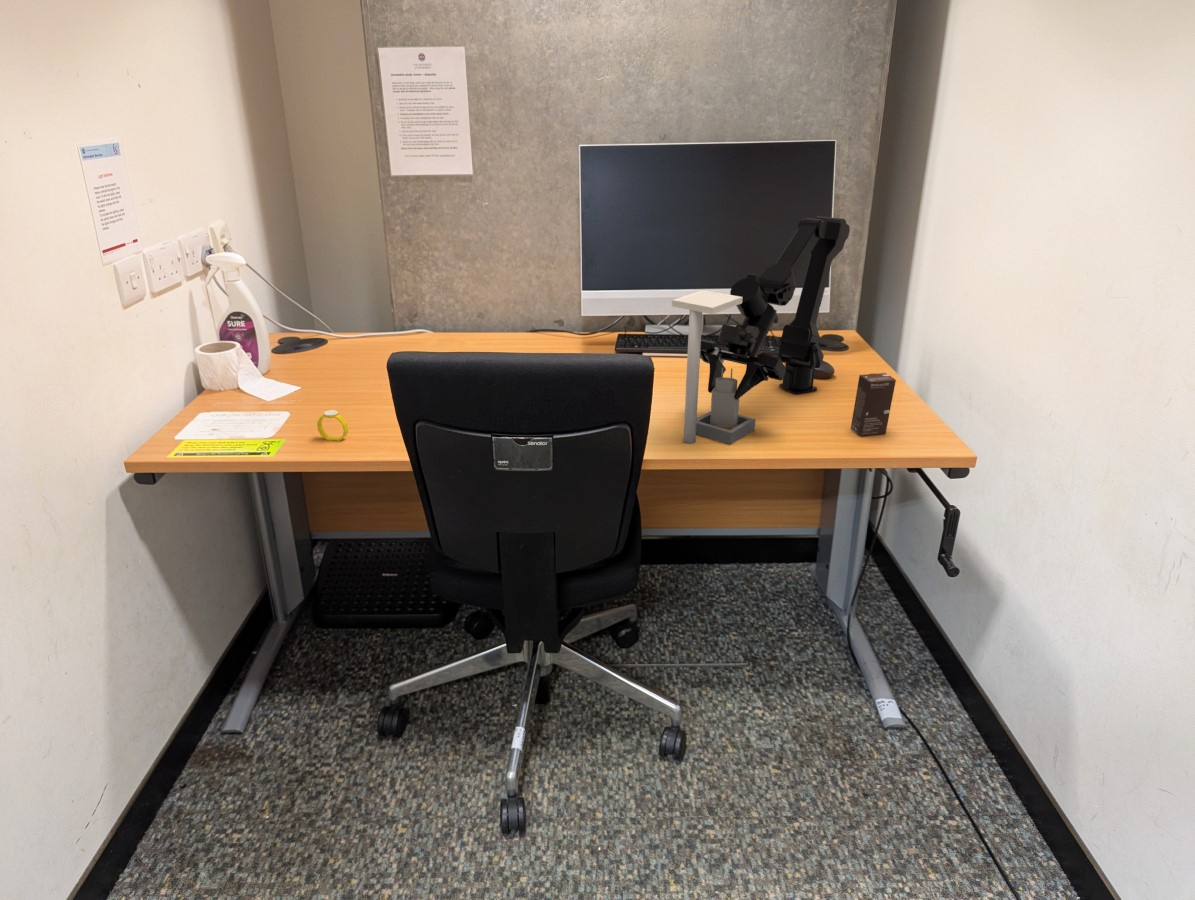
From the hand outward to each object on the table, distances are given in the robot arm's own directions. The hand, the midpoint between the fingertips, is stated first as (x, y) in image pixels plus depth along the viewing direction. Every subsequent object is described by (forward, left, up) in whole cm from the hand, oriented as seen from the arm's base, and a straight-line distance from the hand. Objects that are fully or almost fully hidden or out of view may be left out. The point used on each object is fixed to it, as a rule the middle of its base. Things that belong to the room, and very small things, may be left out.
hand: (722, 395), depth 162 cm
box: (-28, +13, -8) cm, 32 cm away
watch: (+72, -30, -8) cm, 79 cm away
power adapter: (-1, -1, -7) cm, 7 cm away
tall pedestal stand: (+2, 0, -8) cm, 8 cm away
